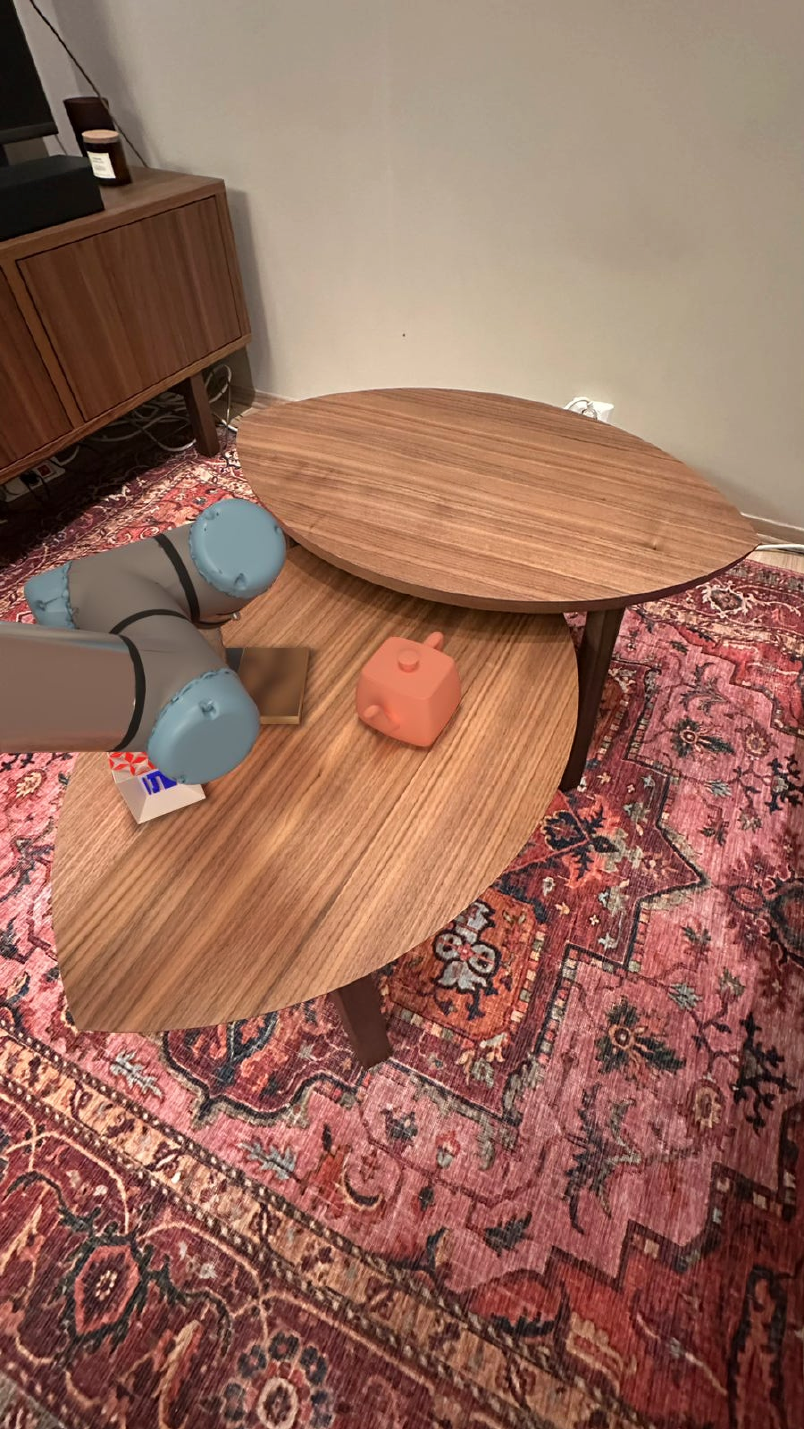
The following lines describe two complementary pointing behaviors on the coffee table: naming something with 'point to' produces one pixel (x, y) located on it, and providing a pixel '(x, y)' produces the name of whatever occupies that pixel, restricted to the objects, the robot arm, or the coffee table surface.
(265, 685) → the board
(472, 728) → the coffee table surface
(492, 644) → the coffee table surface
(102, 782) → the coffee table surface
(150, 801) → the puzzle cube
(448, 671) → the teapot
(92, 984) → the coffee table surface
